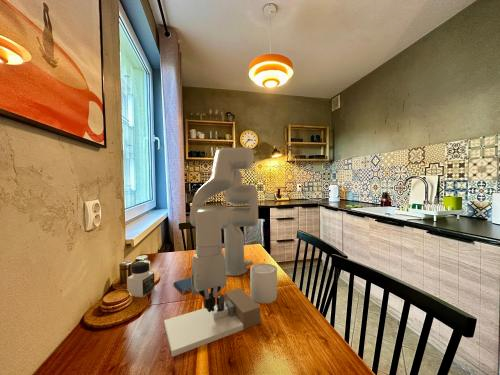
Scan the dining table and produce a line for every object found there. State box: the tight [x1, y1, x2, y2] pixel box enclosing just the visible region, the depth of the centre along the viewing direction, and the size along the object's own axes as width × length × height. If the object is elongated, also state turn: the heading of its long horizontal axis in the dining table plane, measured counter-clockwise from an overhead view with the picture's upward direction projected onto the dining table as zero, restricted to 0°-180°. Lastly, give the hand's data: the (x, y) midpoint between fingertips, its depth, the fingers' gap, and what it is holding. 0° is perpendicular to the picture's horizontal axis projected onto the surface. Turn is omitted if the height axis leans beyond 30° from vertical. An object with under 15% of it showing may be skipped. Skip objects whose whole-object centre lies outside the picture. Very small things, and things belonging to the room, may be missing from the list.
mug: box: [249, 263, 278, 304], centre depth 84 cm, size 14×10×11 cm
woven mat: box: [172, 276, 193, 295], centre depth 92 cm, size 10×11×2 cm
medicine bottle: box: [126, 260, 156, 298], centre depth 86 cm, size 7×7×12 cm
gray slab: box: [163, 287, 261, 358], centre depth 66 cm, size 26×14×5 cm, turn 119°
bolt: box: [212, 294, 235, 320], centre depth 69 cm, size 12×2×6 cm, turn 119°
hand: (209, 309), depth 66 cm, fingers closed
